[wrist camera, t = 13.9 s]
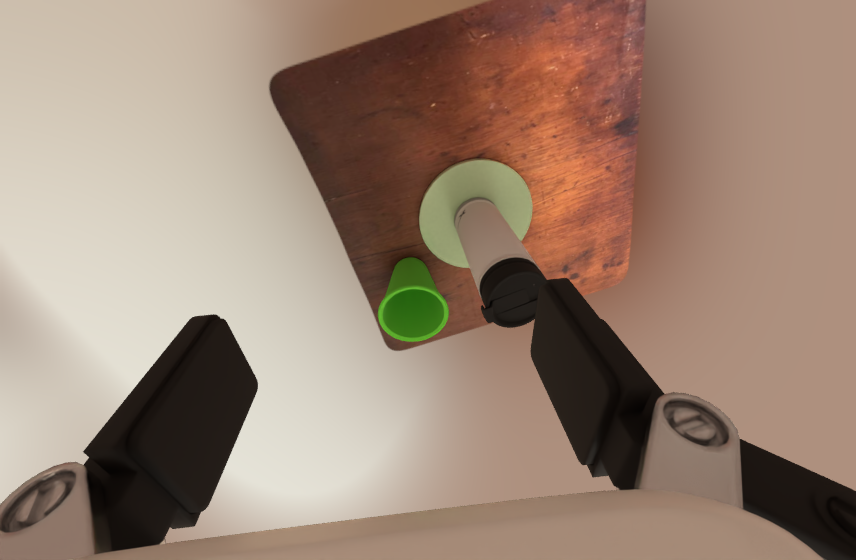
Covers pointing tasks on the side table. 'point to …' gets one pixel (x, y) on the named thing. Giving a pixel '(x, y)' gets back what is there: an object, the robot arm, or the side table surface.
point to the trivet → (461, 186)
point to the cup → (412, 303)
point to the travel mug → (498, 264)
